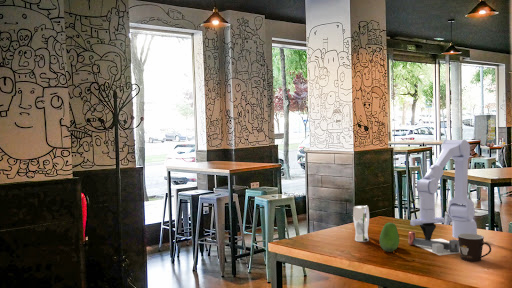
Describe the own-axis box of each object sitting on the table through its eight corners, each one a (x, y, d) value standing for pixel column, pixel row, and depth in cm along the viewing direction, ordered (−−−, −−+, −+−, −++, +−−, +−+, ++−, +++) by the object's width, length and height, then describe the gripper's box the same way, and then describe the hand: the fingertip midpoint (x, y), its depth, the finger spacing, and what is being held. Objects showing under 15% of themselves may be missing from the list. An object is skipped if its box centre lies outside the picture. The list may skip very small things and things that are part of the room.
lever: (461, 250, 189) (460, 238, 188) (457, 252, 186) (457, 239, 186) (411, 242, 203) (411, 230, 203) (407, 244, 201) (406, 232, 200)
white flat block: (441, 241, 210) (441, 231, 210) (475, 255, 189) (475, 243, 189) (408, 245, 206) (407, 234, 206) (439, 259, 185) (439, 247, 185)
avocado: (400, 254, 193) (400, 224, 192) (380, 254, 194) (379, 224, 194) (398, 249, 201) (397, 220, 200) (378, 248, 202) (378, 220, 202)
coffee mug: (453, 260, 182) (453, 234, 182) (476, 259, 183) (475, 233, 183) (470, 269, 171) (469, 241, 170) (493, 268, 171) (493, 240, 171)
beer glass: (369, 242, 213) (369, 208, 213) (353, 242, 215) (352, 208, 214) (369, 238, 220) (368, 205, 220) (353, 238, 222) (353, 205, 221)
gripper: (437, 205, 203) (437, 237, 204) (405, 208, 200) (406, 240, 200) (447, 208, 196) (448, 241, 197) (415, 211, 193) (416, 245, 194)
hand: (427, 241), depth 198 cm, fingers closed
